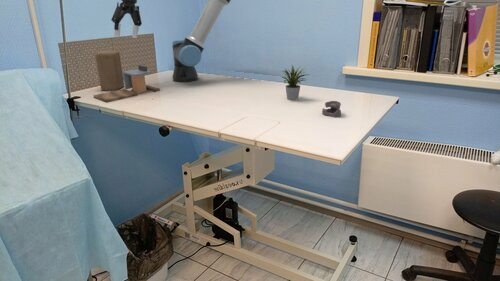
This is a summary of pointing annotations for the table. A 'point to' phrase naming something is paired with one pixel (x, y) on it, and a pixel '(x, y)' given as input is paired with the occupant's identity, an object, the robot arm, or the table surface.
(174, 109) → the table surface
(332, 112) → the dental mold
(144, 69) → the sliding cover
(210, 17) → the robot arm
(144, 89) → the terracotta block
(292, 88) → the house plant
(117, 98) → the puzzle board
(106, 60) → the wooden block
